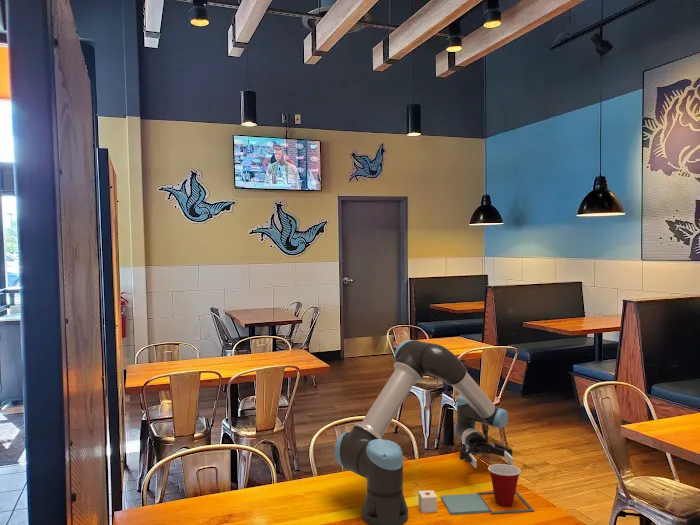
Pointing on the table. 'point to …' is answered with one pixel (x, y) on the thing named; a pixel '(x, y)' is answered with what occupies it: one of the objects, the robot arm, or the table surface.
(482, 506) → the pad
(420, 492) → the die
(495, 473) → the plastic cup
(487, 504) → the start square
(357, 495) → the table surface
